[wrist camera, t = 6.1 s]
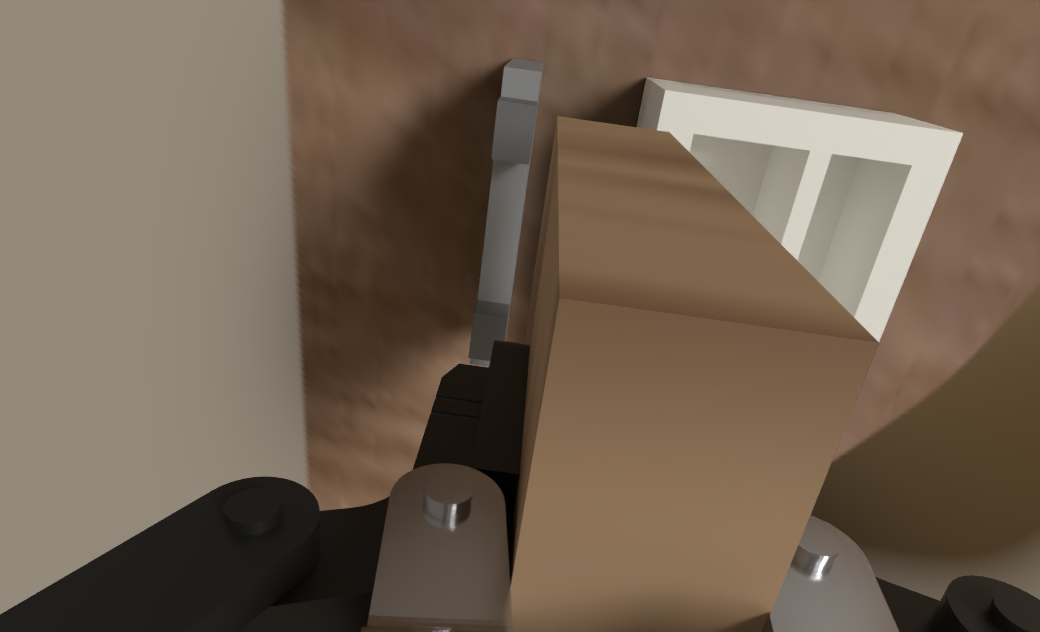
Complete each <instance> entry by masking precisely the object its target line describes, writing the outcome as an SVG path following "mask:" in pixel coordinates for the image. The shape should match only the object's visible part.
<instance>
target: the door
mask: <svg viewBox="0 0 1040 632" xmlns="http://www.w3.org/2000/svg"><path fill="white" fill-rule="evenodd" d="M524 344H527V345H530V353H529V366H528V378H527V391H526V403H525V416H524V429H523V441H522V454H521V466H520V477H519V483H518V489H517V495H516V501H515V508H514V514H513V520H512V526H511V532H510V539H509V545H508V557H509V573H510V589H511V605H512V621H513V630H514V632H761V631H762V628H763V626H764V623H765V621H766V618H767V616H768V613H769V612H772V609H773V607H774V604H775V602H776V599H777V597H778V594H779V592H780V589H781V587H782V585H783V582H784V580H785V577H786V575H787V572H788V570H789V567H790V565H791V562H792V560H793V557H794V555H795V552H796V550H797V547H798V545H799V542H800V540H801V537H802V535H803V532H804V530H805V527H806V525H807V522H808V520H809V517H810V514H811V512H812V510H813V507H814V505H815V502H816V500H817V497H818V495H819V492H820V489H821V487H822V485H823V482H824V480H825V477H826V474H827V472H828V470H829V467H830V465H831V462H832V460H833V457H834V455H835V452H836V450H837V447H838V445H839V442H840V440H841V437H842V435H843V432H844V430H845V427H846V425H847V422H848V420H849V417H850V415H851V412H852V410H853V407H854V405H855V402H856V400H857V397H858V395H859V392H860V390H861V387H862V385H863V382H864V380H865V377H866V375H867V372H868V370H869V367H870V365H871V362H872V360H873V357H874V355H875V352H876V350H877V347H878V345H879V342H878V341H877V340H876V339H875V338H874V337H873V336H872V335H871V334H870V333H869V332H868V331H867V330H866V329H865V328H864V327H863V326H862V325H861V324H860V323H859V322H858V321H857V320H856V319H855V318H854V317H853V316H852V315H851V314H850V313H849V312H848V311H847V310H846V309H845V308H844V307H843V306H842V305H841V304H840V303H839V302H838V301H837V300H836V299H835V298H834V297H833V296H832V295H831V294H830V293H829V292H828V291H827V290H826V289H825V288H824V287H823V286H822V285H821V284H820V283H819V282H818V281H817V280H816V279H815V278H814V277H813V276H812V275H811V274H810V273H809V272H808V271H807V270H806V269H805V268H804V267H803V266H802V265H801V264H800V263H799V262H798V261H797V260H796V259H795V258H794V257H793V256H792V255H791V254H790V253H789V252H788V251H787V250H786V249H785V248H784V247H783V246H782V245H781V244H780V243H779V242H778V241H777V240H776V239H775V238H774V237H773V236H772V235H771V234H770V233H769V232H768V231H767V230H766V229H765V228H764V227H763V226H762V225H761V224H760V223H759V222H758V221H757V220H756V219H755V218H754V217H753V216H752V215H751V214H750V213H749V212H748V211H747V210H746V209H745V207H744V206H743V205H742V204H741V203H740V202H739V201H738V200H737V199H736V198H735V197H734V196H733V195H732V194H731V193H730V192H729V191H728V190H727V189H726V188H725V187H724V186H723V185H722V184H721V183H720V182H719V181H718V180H717V179H716V178H715V177H714V176H713V175H712V174H711V173H710V172H709V171H708V170H707V169H706V168H705V167H704V166H703V165H702V164H701V163H700V162H699V161H698V160H697V159H696V158H695V157H694V156H693V155H692V154H691V153H690V152H689V151H688V150H687V149H686V148H685V147H684V146H683V145H682V144H681V143H680V142H679V141H678V140H677V139H676V138H675V137H674V136H673V135H672V134H671V133H670V132H665V131H658V130H651V129H644V128H637V127H630V126H623V125H616V124H609V123H602V122H595V121H588V120H581V119H574V118H567V117H560V116H557V122H556V129H555V136H554V142H553V149H552V156H551V163H550V169H549V176H548V183H547V189H546V196H545V203H544V210H543V216H542V223H541V230H540V236H539V243H538V250H537V257H536V263H535V270H534V277H533V283H532V290H531V297H530V304H529V310H528V317H527V324H526V330H525V337H524Z"/></svg>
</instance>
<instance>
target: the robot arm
mask: <svg viewBox="0 0 1040 632" xmlns="http://www.w3.org/2000/svg"><path fill="white" fill-rule="evenodd" d="M529 353H530V345H527V344H520V343H513V342H506V341H499V340H494V344H493V349H492V354H491V360H490V365H489V368H486V367H479V366H472V365H465V364H458V365H457V366H456V367H454V368H453V369H452V370H451V371H449V372H448V373H447V374H446V375H444V376H443V377H442V379H441V382H440V385H439V388H438V391H437V395H436V399H435V401H434V404H433V407H432V410H431V414H430V417H429V420H428V423H427V426H426V429H425V433H424V436H423V439H422V442H421V445H420V448H419V452H418V455H417V458H416V461H415V464H414V467H413V470H412V471H410V472H408V473H406V474H405V475H403V476H402V477H401V478H400V479H399V480H398V481H397V482H396V483H395V485H394V486H393V488H392V490H391V493H390V496H389V497H387V498H385V499H384V500H381V501H379V502H376V503H373V504H369V505H366V506H361V507H354V508H346V509H336V510H326V511H319V505H318V502H317V500H316V498H315V496H314V495H313V494H312V493H311V492H310V491H309V490H308V489H307V488H305V487H303V486H302V485H300V484H298V483H296V482H294V481H291V480H287V479H283V478H277V477H253V478H246V479H241V480H237V481H234V482H230V483H228V484H225V485H223V486H220V487H218V488H216V489H215V490H212V491H211V492H209V493H207V494H206V495H204V496H202V497H200V498H199V499H197V500H195V501H194V502H192V503H190V504H189V505H187V506H185V507H184V508H182V509H180V510H178V511H176V512H175V513H173V514H171V515H170V516H168V517H166V518H165V519H163V520H161V521H159V522H158V523H156V524H154V525H153V526H151V527H149V528H147V529H146V530H144V531H142V532H141V533H139V534H137V535H135V536H134V537H132V538H130V539H129V540H127V541H125V542H123V543H122V544H120V545H118V546H117V547H115V548H113V549H112V550H110V551H108V552H106V553H105V554H103V555H101V556H100V557H98V558H96V559H94V560H93V561H91V562H89V563H88V564H86V565H84V566H83V567H81V568H79V569H77V570H76V571H74V572H72V573H70V574H69V575H67V576H65V577H64V578H62V579H60V580H59V581H57V582H55V583H53V584H52V585H50V586H48V587H47V588H45V589H43V590H41V591H40V592H38V593H36V594H35V595H33V596H31V597H30V598H28V599H26V600H24V601H23V602H21V603H19V604H18V605H16V606H14V607H12V608H11V609H9V610H7V611H6V612H4V613H2V614H0V632H514V630H513V621H512V605H511V589H510V573H509V557H508V545H509V539H510V532H511V526H512V520H513V514H514V508H515V501H516V495H517V489H518V483H519V477H520V466H521V454H522V441H523V429H524V416H525V403H526V391H527V378H528V366H529ZM761 632H1040V600H1039V599H1037V598H1036V597H1034V596H1032V595H1030V594H1029V593H1027V592H1025V591H1023V590H1021V589H1019V588H1016V587H1014V586H1012V585H1009V584H1007V583H1005V582H1002V581H998V580H995V579H992V578H987V577H982V576H962V577H959V578H957V579H955V580H953V581H952V582H951V583H950V584H949V586H948V588H947V589H946V591H945V593H944V595H943V597H942V599H941V601H939V600H936V599H933V598H931V597H928V596H925V595H922V594H920V593H917V592H914V591H911V590H908V589H906V588H903V587H900V586H897V585H895V584H892V583H889V582H887V581H884V580H882V579H879V578H877V577H875V575H874V573H873V571H872V569H871V566H870V564H869V562H868V560H867V558H866V556H865V555H864V553H863V552H862V551H861V549H860V548H859V547H858V546H857V545H856V544H855V543H854V542H853V541H852V540H851V539H850V538H849V537H848V536H846V535H845V534H844V533H843V532H841V531H840V530H838V529H837V528H836V527H834V526H832V525H830V524H828V523H827V522H825V521H822V520H820V519H818V518H816V517H813V516H811V515H810V517H809V520H808V522H807V525H806V527H805V530H804V532H803V535H802V537H801V540H800V542H799V545H798V547H797V550H796V552H795V555H794V557H793V560H792V562H791V565H790V567H789V570H788V572H787V575H786V577H785V580H784V582H783V585H782V587H781V589H780V592H779V594H778V597H777V599H776V602H775V604H774V607H773V609H772V612H769V613H768V616H767V618H766V621H765V623H764V626H763V628H762V631H761Z"/></svg>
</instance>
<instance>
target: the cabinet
mask: <svg viewBox="0 0 1040 632" xmlns="http://www.w3.org/2000/svg"><path fill="white" fill-rule="evenodd" d="M543 67H544V62H538V61H531V60H524V59H517V58H512V59H511V60H510V61H509V62H508V63H507V64H506V65H505V66H504V72H503V81H502V90H501V97H500V98H499V100H498V103H497V112H496V121H495V129H494V138H493V147H492V156H491V160H493V168H492V177H491V186H490V194H489V203H488V212H487V221H486V229H485V238H484V247H483V256H482V264H481V273H480V282H479V290H478V299H477V303H476V307H475V310H474V315H473V324H472V333H471V342H470V351H469V358H471V360H470V364H475V365H482V366H489V365H490V360H491V354H492V349H493V344H494V340H499V341H505V339H506V333H507V327H508V320H509V313H510V306H511V299H512V292H513V284H514V277H515V270H516V263H517V255H518V248H519V241H520V234H521V226H522V219H523V212H524V205H525V197H526V190H527V183H528V176H529V169H530V161H531V154H532V147H533V140H534V132H535V125H536V118H537V111H538V103H539V96H540V89H541V82H542V74H543ZM637 128H644V129H651V130H658V131H665V132H670V133H671V134H672V135H673V136H674V137H675V138H676V139H677V140H678V141H679V142H680V143H681V144H682V145H683V146H684V147H685V148H686V149H687V150H688V151H689V152H690V153H691V154H692V155H693V156H694V157H695V158H696V159H697V160H698V161H699V162H700V163H701V164H702V165H703V166H704V167H705V168H706V169H707V170H708V171H709V172H710V173H711V174H712V175H713V176H714V177H715V178H716V179H717V180H718V181H719V182H720V183H721V184H722V185H723V186H724V187H725V188H726V189H727V190H728V191H729V192H730V193H731V194H732V195H733V196H734V197H735V198H736V199H737V200H738V201H739V202H740V203H741V204H742V205H743V206H744V207H745V209H746V210H747V211H748V212H749V213H750V214H751V215H752V216H753V217H754V218H755V219H756V220H757V221H758V222H759V223H760V224H761V225H762V226H763V227H764V228H765V229H766V230H767V231H768V232H769V233H770V234H771V235H772V236H773V237H774V238H775V239H776V240H777V241H778V242H779V243H780V244H781V245H782V246H783V247H784V248H785V249H786V250H787V251H788V252H789V253H790V254H791V255H792V256H793V257H794V258H795V259H796V260H797V261H798V262H799V263H800V264H801V265H802V266H803V267H804V268H805V269H806V270H807V271H808V272H809V273H810V274H811V275H812V276H813V277H814V278H815V279H816V280H817V281H818V282H819V283H820V284H821V285H822V286H823V287H824V288H825V289H826V290H827V291H828V292H829V293H830V294H831V295H832V296H833V297H834V298H835V299H836V300H837V301H838V302H839V303H840V304H841V305H842V306H843V307H844V308H845V309H846V310H847V311H848V312H849V313H850V314H851V315H852V316H853V317H854V318H855V319H856V320H857V321H858V322H859V323H860V324H861V325H862V326H863V327H864V328H865V329H866V330H867V331H868V332H869V333H870V334H871V335H872V336H873V337H874V338H875V339H876V340H877V341H878V342H879V341H880V338H881V336H882V333H883V331H884V328H885V326H886V323H887V321H888V318H889V316H890V313H891V311H892V309H893V306H894V304H895V301H896V299H897V296H898V294H899V291H900V289H901V286H902V284H903V281H904V279H905V276H906V274H907V271H908V269H909V266H910V264H911V262H912V259H913V257H914V254H915V252H916V249H917V247H918V244H919V242H920V239H921V237H922V234H923V232H924V229H925V227H926V224H927V222H928V219H929V217H930V215H931V212H932V210H933V207H934V205H935V202H936V200H937V197H938V195H939V192H940V190H941V187H942V185H943V182H944V180H945V177H946V175H947V173H948V170H949V168H950V165H951V163H952V160H953V158H954V155H955V153H956V150H957V148H958V145H959V143H960V140H961V138H962V135H963V133H961V132H958V131H954V130H951V129H947V128H944V127H940V126H937V125H933V124H930V123H926V122H923V121H919V120H916V119H912V118H909V117H905V116H902V115H898V114H895V113H890V112H883V111H876V110H869V109H862V108H855V107H848V106H841V105H835V104H828V103H821V102H814V101H807V100H800V99H793V98H786V97H779V96H772V95H765V94H759V93H752V92H745V91H738V90H731V89H724V88H717V87H710V86H703V85H696V84H690V83H683V82H676V81H669V80H662V79H655V78H648V77H646V82H645V87H644V92H643V97H642V102H641V107H640V112H639V117H638V122H637Z"/></svg>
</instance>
